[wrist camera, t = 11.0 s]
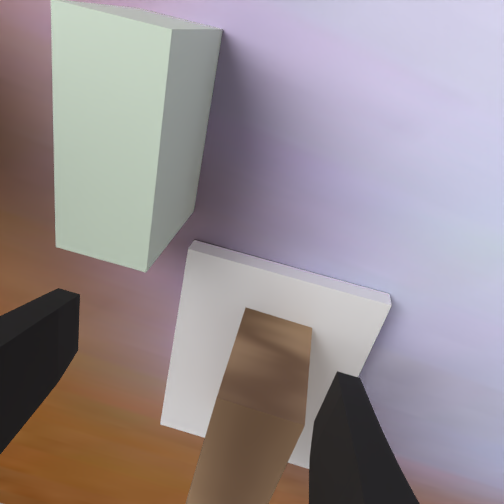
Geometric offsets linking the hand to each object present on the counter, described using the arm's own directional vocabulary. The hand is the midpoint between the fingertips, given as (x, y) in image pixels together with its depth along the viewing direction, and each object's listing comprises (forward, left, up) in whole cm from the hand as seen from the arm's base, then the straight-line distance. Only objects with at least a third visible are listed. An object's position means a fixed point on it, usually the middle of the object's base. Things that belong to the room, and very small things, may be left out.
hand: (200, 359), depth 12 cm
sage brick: (-5, +3, -10) cm, 12 cm away
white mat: (+2, -9, -10) cm, 13 cm away
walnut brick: (+2, -9, -9) cm, 12 cm away
